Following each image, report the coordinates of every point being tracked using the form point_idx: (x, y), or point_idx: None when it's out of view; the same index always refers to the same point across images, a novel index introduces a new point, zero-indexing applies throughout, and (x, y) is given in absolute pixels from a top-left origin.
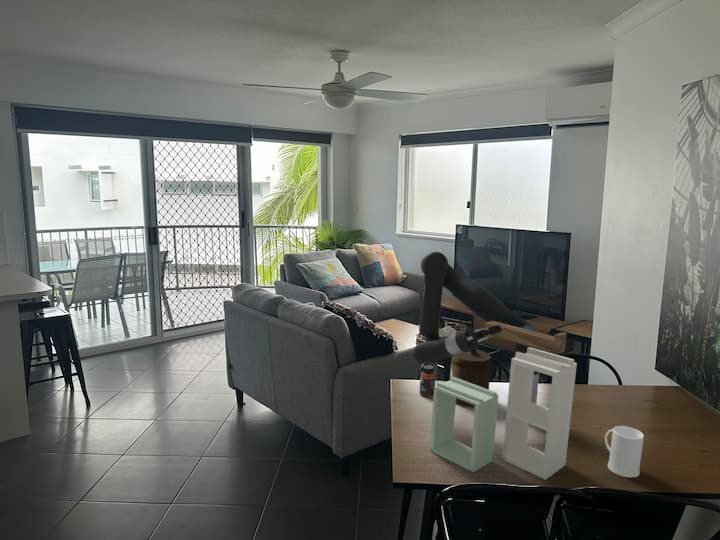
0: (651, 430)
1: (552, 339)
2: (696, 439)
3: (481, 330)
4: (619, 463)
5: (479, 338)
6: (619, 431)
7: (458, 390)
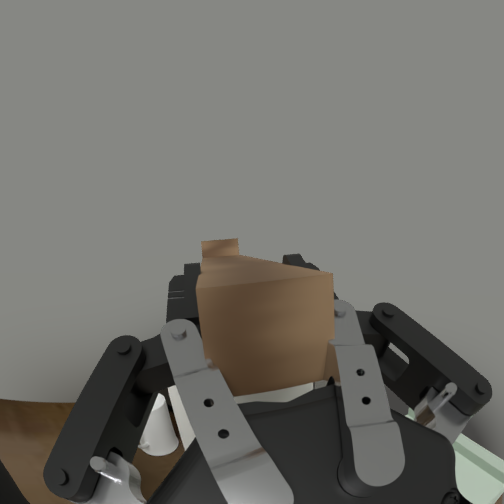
0: (30, 434)
1: (233, 255)
2: (36, 409)
3: (395, 307)
4: (173, 432)
5: (402, 363)
6: None
7: (462, 436)
